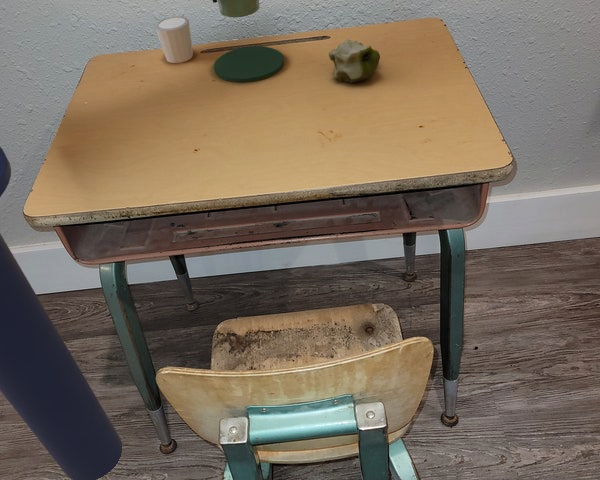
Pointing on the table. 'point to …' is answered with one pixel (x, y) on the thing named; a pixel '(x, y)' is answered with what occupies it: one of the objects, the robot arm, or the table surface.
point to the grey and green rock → (354, 61)
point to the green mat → (249, 64)
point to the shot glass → (175, 38)
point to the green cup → (238, 7)
